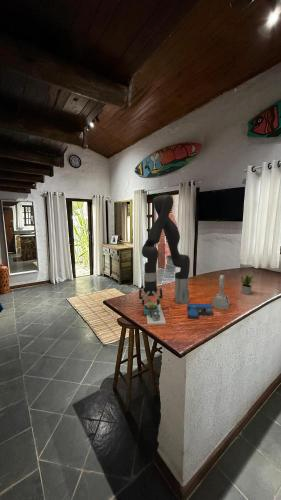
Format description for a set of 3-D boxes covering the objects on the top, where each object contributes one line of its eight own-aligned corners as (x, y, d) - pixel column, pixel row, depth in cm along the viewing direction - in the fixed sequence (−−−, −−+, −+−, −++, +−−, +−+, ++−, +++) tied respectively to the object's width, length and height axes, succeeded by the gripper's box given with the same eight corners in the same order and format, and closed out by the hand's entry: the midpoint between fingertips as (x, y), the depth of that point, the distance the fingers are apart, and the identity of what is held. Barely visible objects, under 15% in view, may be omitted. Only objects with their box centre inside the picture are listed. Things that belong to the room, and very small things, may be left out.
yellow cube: (155, 312, 127) (155, 304, 126) (147, 313, 126) (147, 305, 126) (154, 309, 132) (154, 301, 131) (146, 309, 132) (146, 302, 131)
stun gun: (216, 315, 118) (210, 303, 133) (187, 314, 120) (185, 302, 135) (215, 322, 119) (210, 309, 134) (187, 321, 121) (185, 308, 136)
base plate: (159, 304, 143) (159, 303, 143) (165, 324, 115) (165, 322, 115) (144, 304, 143) (144, 303, 143) (147, 324, 115) (147, 323, 115)
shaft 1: (153, 309, 133) (153, 303, 133) (147, 309, 133) (147, 303, 133) (152, 304, 141) (152, 298, 141) (146, 304, 141) (146, 298, 141)
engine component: (211, 307, 136) (227, 310, 131) (211, 276, 134) (228, 278, 128) (215, 301, 146) (230, 304, 140) (215, 272, 143) (231, 274, 138)
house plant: (262, 297, 152) (263, 275, 150) (243, 297, 152) (244, 275, 150) (252, 290, 166) (253, 270, 164) (234, 291, 166) (235, 271, 164)
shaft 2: (148, 315, 124) (148, 309, 123) (154, 314, 125) (154, 308, 125) (154, 321, 116) (154, 314, 116) (160, 320, 118) (160, 313, 117)
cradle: (157, 309, 133) (157, 304, 133) (158, 314, 125) (158, 310, 124) (143, 309, 133) (143, 305, 133) (144, 315, 125) (144, 310, 124)
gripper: (138, 281, 122) (139, 308, 124) (163, 280, 123) (163, 307, 125) (138, 278, 130) (139, 303, 132) (161, 277, 130) (161, 302, 132)
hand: (150, 305), depth 128 cm, fingers open, 8 cm apart
